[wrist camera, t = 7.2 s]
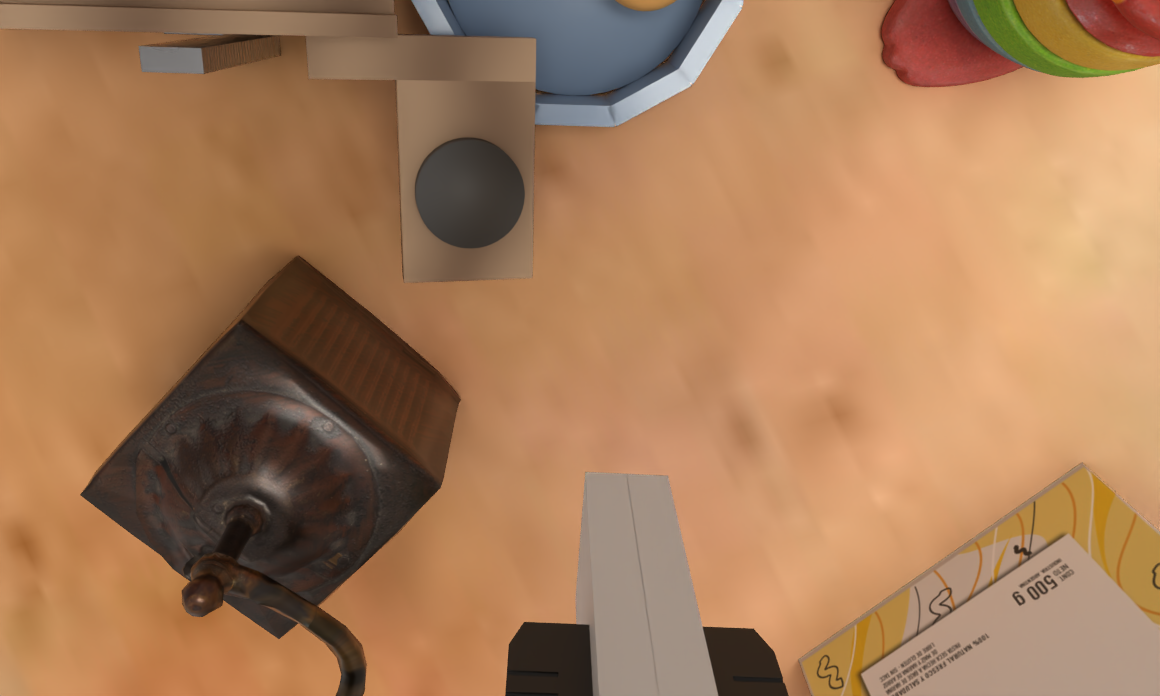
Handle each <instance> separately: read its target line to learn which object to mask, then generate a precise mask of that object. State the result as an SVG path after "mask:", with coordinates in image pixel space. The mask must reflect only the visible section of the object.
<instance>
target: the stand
mask: <svg viewBox="0 0 1160 696" xmlns="http://www.w3.org/2000/svg"><path fill="white" fill-rule="evenodd" d="M164 34H194V35H218V36H211V37H203V38H196V39H188V40H181V41H173V42H166V43H159V44H151V45H144V46H139V53H140V61H141V68H142V72H163V73H194V74H205V73H209V72H214V71H218V70H222V69H226V68H230V67H235V66H239V65H243V64H247V63H251V62H255V61H260V60H264V59H268V58H272V57H276V56H281V50H280V38H279V35H252V34H211V33H168V32H164Z"/></svg>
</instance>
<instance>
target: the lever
mask: <svg viewBox="0 0 1160 696" xmlns="http://www.w3.org/2000/svg"><path fill="white" fill-rule="evenodd" d="M0 29H39V30H82V31H125V32H168V33H211V34H254V35H297V36H306V48H307V62H308V76H309V79H353V80H395V84H396V111H397V138H398V165H399V192H400V219H401V246H402V273H403V280H404V283H418V282H444V281H471V280H498V279H524V278H532V277H533V214H534V152H535V89H536V39H535V38H532V37H500V36H459V35H418V34H398V29H397V15H395V14H394V0H0Z"/></svg>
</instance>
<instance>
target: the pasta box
mask: <svg viewBox="0 0 1160 696" xmlns="http://www.w3.org/2000/svg"><path fill="white" fill-rule="evenodd" d="M798 661H799V663H800V666H801V669H802V672H803V674H804V677H805V680H806V683H807V685H808V688H809V691H810V694H811V696H1160V531H1159V530H1157V529H1156V528H1155V527H1154V526H1153V525H1152V524H1151V523H1150V522H1149V521H1147V520H1146V519H1145V518H1144V517H1143V516H1142V515H1141V514H1140V513H1138V512H1137V511H1136V510H1135V509H1134V508H1133V507H1132V506H1131V505H1129V504H1128V503H1127V502H1126V501H1125V500H1124V499H1123V498H1122V497H1120V496H1119V495H1118V494H1117V493H1116V492H1115V491H1114V490H1113V489H1111V488H1110V487H1109V486H1108V485H1107V484H1106V483H1105V482H1104V481H1103V480H1101V479H1100V478H1099V477H1098V476H1097V475H1096V474H1095V473H1094V472H1092V471H1091V470H1090V469H1089V468H1088V467H1087V466H1086V465H1085V464H1083V463H1080V464H1079V465H1078V466H1076V467H1075V468H1073V469H1072V470H1070V471H1069V472H1067V473H1066V474H1065V475H1063V476H1062V477H1060V478H1059V479H1057V480H1056V481H1055V482H1053V483H1052V484H1050V485H1049V486H1047V487H1046V488H1044V489H1043V490H1042V491H1040V492H1039V493H1037V494H1036V495H1034V496H1033V497H1032V498H1030V499H1029V500H1027V501H1026V502H1024V503H1023V504H1021V505H1020V506H1019V507H1017V508H1016V509H1014V510H1013V511H1011V512H1010V513H1008V514H1007V515H1006V516H1004V517H1003V518H1001V519H1000V520H998V521H997V522H996V523H994V524H993V525H991V526H990V527H988V528H987V529H985V530H984V531H983V532H981V533H980V534H978V535H977V536H975V537H974V538H972V539H971V540H970V541H968V542H967V543H965V544H964V545H962V546H961V547H960V548H958V549H957V550H955V551H954V552H952V553H951V554H949V555H948V556H947V557H945V558H944V559H942V560H941V561H939V562H938V563H937V564H935V565H934V566H932V567H931V568H929V569H928V570H926V571H925V572H924V573H922V574H921V575H919V576H918V577H916V578H915V579H913V580H912V581H911V582H909V583H908V584H906V585H905V586H903V587H902V588H901V589H899V590H898V591H896V592H895V593H893V594H892V595H890V596H889V597H888V598H886V599H885V600H883V601H882V602H880V603H879V604H877V605H876V606H875V607H873V608H872V609H870V610H869V611H867V612H866V613H865V614H863V615H862V616H860V617H859V618H857V619H856V620H854V621H853V622H852V623H850V624H849V625H847V626H846V627H844V628H843V629H842V630H840V631H839V632H837V633H836V634H834V635H833V636H831V637H830V638H829V639H827V640H826V641H824V642H823V643H821V644H820V645H818V646H817V647H816V648H814V649H813V650H811V651H810V652H808V653H807V654H806V655H804V656H803V657H801V658H800V659H798Z"/></svg>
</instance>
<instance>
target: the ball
mask: <svg viewBox="0 0 1160 696" xmlns="http://www.w3.org/2000/svg"><path fill="white" fill-rule="evenodd" d="M615 1H617V2H618V3H619V4H621V5H623V6H625V7H627V8H630V9H633V10H637V11H654V10H658V9H662V8H664V7H666V6H668V5H670V4H672V3H674V2H675V1H676V0H615Z"/></svg>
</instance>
